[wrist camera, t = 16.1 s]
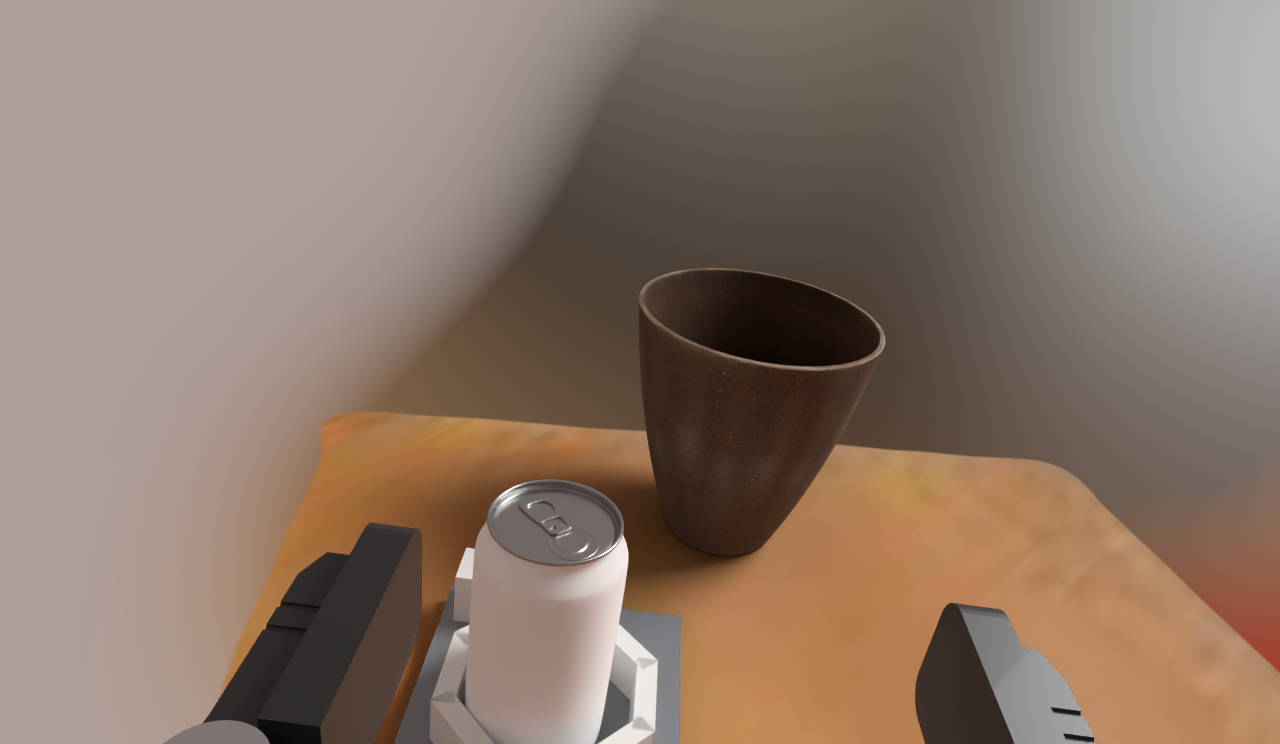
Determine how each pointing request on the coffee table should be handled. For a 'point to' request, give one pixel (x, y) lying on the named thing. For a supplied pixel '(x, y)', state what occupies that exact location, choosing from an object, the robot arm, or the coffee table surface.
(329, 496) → the coffee table surface
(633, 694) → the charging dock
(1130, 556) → the coffee table surface
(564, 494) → the can
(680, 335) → the plant pot
